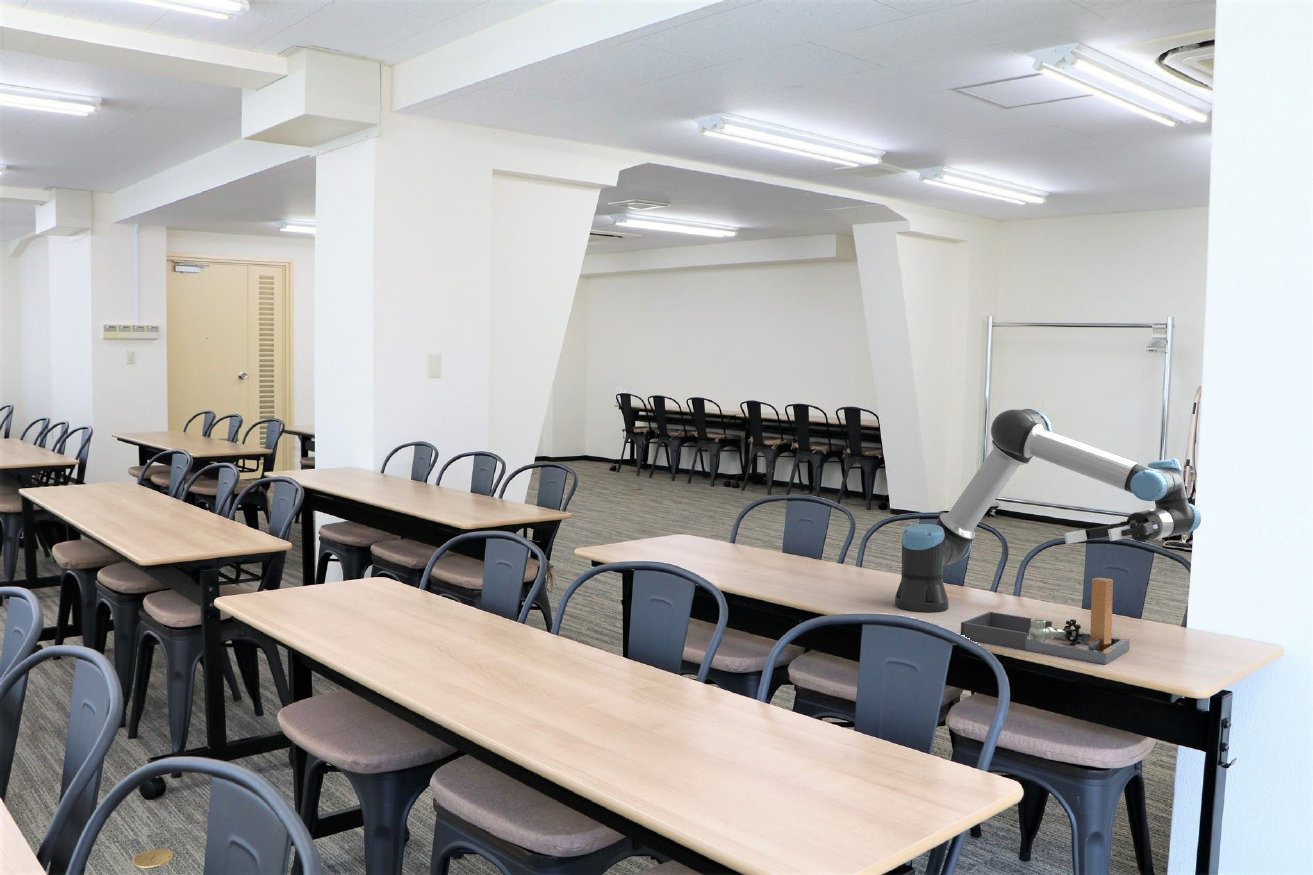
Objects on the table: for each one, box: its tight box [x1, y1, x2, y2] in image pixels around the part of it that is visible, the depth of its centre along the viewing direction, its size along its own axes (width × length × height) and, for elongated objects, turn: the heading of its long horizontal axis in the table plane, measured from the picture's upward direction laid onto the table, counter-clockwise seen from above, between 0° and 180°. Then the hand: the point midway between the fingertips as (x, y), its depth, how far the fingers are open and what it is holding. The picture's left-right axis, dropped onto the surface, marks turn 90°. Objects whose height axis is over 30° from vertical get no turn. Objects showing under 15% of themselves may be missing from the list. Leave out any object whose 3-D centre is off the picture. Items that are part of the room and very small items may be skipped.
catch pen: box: [960, 611, 1053, 651], centre depth 251 cm, size 18×16×4 cm
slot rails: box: [1024, 626, 1131, 666], centre depth 239 cm, size 18×18×2 cm
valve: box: [1028, 618, 1083, 647], centre depth 243 cm, size 7×7×12 cm
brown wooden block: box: [1088, 577, 1114, 651], centre depth 236 cm, size 13×4×18 cm, turn 139°
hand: (1087, 536), depth 241 cm, fingers open, 13 cm apart
